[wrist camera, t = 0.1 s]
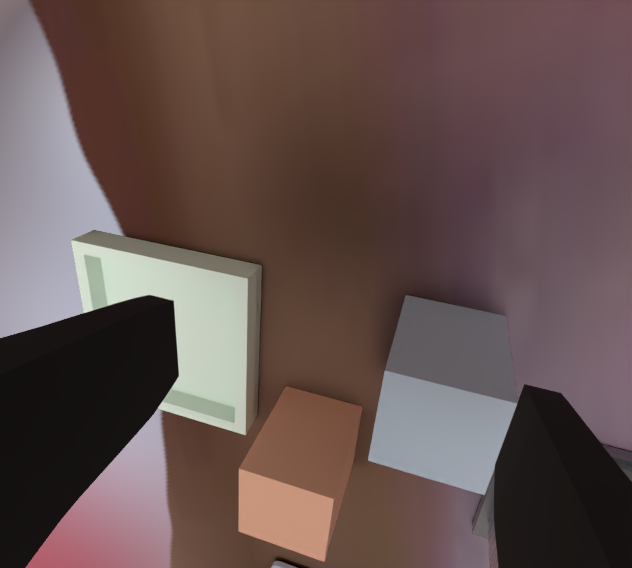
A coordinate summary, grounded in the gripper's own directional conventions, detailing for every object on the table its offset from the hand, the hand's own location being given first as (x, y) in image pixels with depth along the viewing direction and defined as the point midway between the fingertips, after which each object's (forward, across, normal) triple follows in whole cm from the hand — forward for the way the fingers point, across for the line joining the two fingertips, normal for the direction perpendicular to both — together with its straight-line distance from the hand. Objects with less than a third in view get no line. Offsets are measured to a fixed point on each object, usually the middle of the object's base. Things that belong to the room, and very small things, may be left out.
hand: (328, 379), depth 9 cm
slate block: (+10, -3, +5) cm, 12 cm away
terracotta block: (+10, +2, +11) cm, 15 cm away
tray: (+10, +10, +7) cm, 16 cm away
